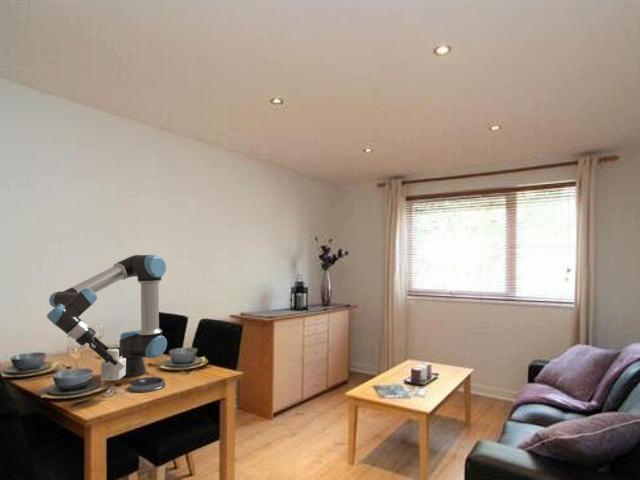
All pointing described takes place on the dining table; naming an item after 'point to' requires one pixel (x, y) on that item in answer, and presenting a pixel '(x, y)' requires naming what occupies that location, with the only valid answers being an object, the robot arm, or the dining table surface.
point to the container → (110, 371)
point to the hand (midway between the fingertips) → (121, 365)
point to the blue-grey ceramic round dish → (147, 384)
